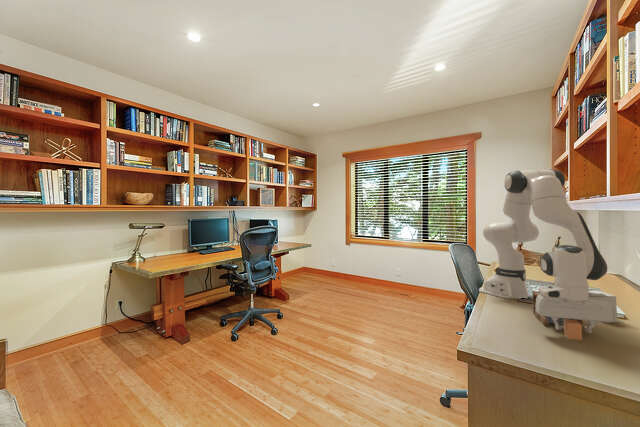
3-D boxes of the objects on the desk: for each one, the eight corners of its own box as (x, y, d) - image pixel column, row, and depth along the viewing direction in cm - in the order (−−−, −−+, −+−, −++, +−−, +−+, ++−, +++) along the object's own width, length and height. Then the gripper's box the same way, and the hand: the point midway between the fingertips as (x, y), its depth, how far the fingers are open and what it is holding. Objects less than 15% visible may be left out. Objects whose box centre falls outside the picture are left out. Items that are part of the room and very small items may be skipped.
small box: (617, 323, 104) (616, 296, 104) (600, 322, 105) (599, 295, 105) (600, 315, 112) (599, 290, 112) (585, 314, 113) (584, 290, 113)
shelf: (533, 313, 116) (532, 291, 116) (566, 317, 111) (566, 293, 111) (545, 327, 103) (544, 301, 103) (584, 331, 98) (583, 304, 98)
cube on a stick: (541, 316, 113) (540, 303, 113) (562, 318, 110) (561, 305, 110) (562, 337, 94) (561, 322, 94) (588, 340, 91) (587, 324, 91)
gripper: (605, 291, 93) (607, 331, 93) (533, 287, 101) (534, 323, 101) (616, 297, 87) (618, 339, 87) (539, 291, 95) (540, 330, 95)
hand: (572, 330), depth 94 cm, fingers open, 6 cm apart
